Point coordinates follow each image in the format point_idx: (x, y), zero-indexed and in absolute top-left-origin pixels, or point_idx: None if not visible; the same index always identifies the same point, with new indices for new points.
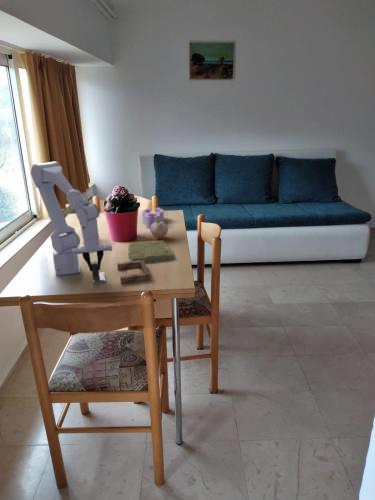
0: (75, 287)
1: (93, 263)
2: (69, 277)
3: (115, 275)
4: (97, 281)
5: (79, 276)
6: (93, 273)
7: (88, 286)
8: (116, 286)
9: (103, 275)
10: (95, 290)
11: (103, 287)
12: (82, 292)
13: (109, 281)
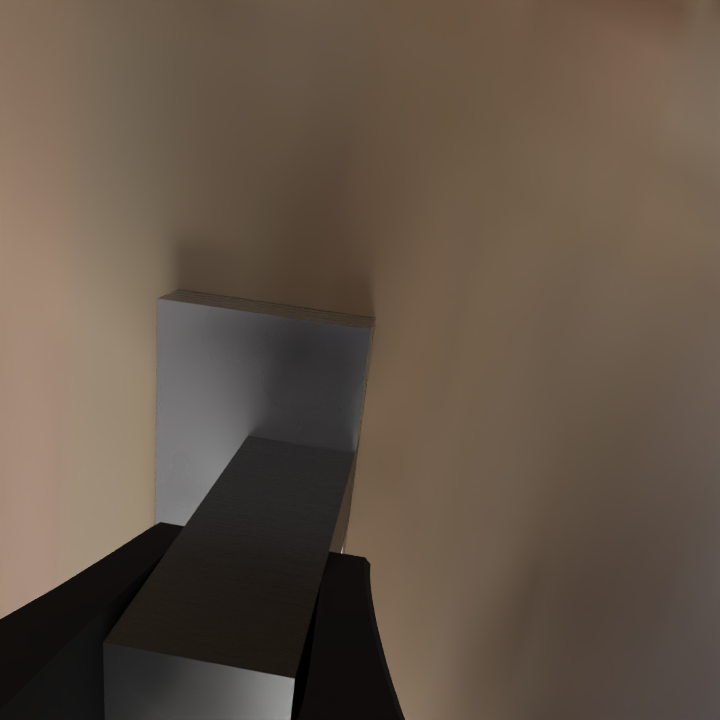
0: (697, 325)
1: (220, 705)
2: (677, 713)
3: (16, 468)
4: (297, 315)
5: (529, 676)
6: (318, 502)
7: (474, 262)
8: (6, 34)
9: (173, 492)
10: (386, 23)
11: (230, 96)
12: (637, 40)
13: (114, 299)
